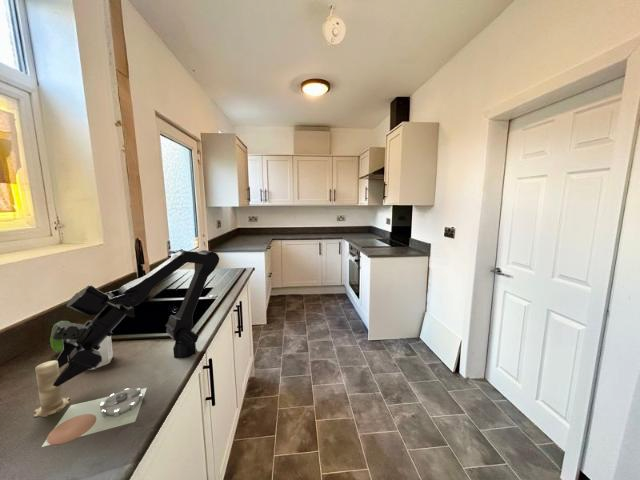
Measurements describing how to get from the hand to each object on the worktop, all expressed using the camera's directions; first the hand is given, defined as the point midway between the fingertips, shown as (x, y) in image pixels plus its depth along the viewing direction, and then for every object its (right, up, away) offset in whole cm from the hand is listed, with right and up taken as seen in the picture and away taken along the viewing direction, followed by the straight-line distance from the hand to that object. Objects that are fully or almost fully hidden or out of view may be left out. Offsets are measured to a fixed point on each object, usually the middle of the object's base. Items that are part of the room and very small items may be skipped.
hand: (53, 378), depth 67 cm
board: (+14, -9, -1) cm, 17 cm away
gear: (+17, -8, +1) cm, 19 cm away
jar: (-8, -7, +22) cm, 24 cm away
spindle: (-1, -9, 0) cm, 9 cm away
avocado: (-25, -6, +29) cm, 38 cm away
